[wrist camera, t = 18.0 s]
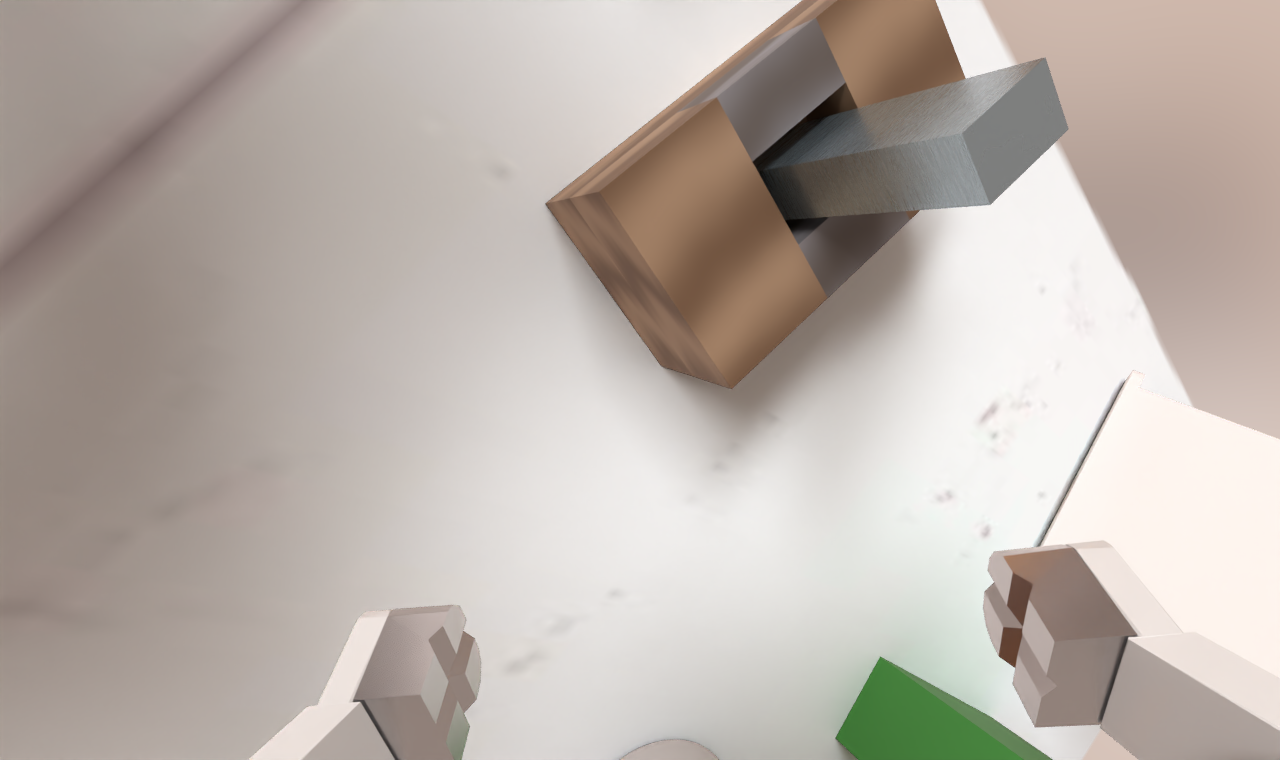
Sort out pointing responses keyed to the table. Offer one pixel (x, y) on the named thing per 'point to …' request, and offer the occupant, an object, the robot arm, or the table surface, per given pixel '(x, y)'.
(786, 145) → the tall rectangular metal block
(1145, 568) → the tablet stand
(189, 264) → the table surface
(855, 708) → the hardback book
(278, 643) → the table surface
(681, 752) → the cylinder vase
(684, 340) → the brown boxy piece
